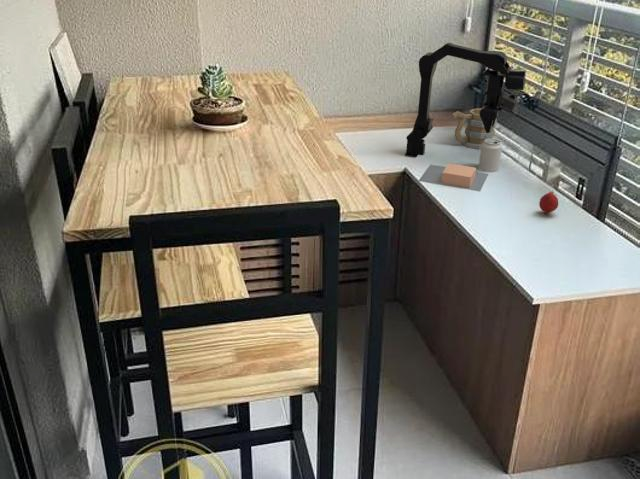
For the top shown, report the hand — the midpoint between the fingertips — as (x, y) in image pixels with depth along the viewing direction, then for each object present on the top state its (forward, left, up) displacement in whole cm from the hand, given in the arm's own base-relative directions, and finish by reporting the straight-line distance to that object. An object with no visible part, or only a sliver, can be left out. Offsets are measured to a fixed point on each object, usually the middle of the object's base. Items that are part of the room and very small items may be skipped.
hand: (489, 129), depth 241 cm
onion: (+26, -35, -15) cm, 46 cm away
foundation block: (-6, -22, -14) cm, 26 cm away
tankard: (-10, +22, -15) cm, 28 cm away
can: (+2, -5, -15) cm, 16 cm away
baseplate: (-8, -19, -15) cm, 25 cm away
